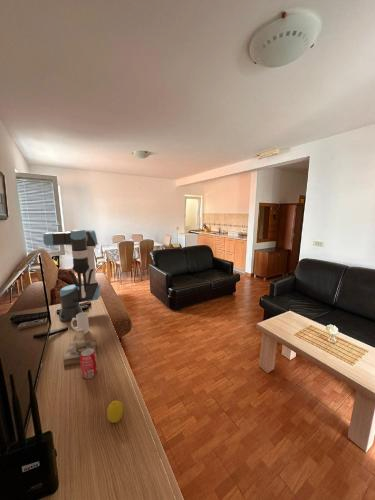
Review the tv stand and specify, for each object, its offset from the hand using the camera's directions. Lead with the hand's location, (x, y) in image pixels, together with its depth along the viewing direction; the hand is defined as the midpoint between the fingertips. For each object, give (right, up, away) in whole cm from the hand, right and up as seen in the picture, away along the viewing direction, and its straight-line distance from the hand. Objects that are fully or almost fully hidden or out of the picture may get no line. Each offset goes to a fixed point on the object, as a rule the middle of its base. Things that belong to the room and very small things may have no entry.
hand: (83, 296), depth 122 cm
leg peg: (+3, -30, -8) cm, 31 cm away
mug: (-8, -26, +13) cm, 30 cm away
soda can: (+14, -32, -22) cm, 41 cm away
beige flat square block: (+3, -30, -8) cm, 31 cm away
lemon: (+34, -36, -45) cm, 67 cm away
